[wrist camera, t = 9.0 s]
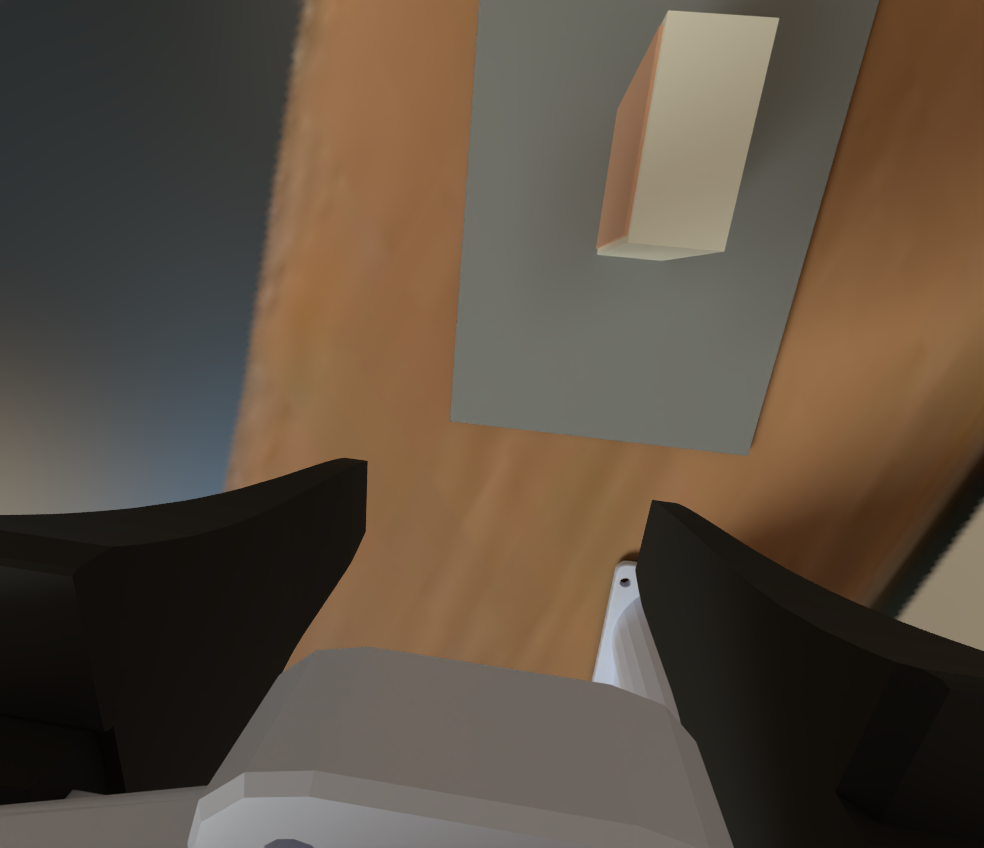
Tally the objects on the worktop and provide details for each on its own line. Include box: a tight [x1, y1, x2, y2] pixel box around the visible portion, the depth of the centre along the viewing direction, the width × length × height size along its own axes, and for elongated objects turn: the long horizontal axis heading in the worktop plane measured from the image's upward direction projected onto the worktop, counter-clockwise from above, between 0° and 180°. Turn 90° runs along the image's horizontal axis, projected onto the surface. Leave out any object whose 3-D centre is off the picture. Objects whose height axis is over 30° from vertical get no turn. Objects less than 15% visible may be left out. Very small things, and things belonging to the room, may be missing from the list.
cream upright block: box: [596, 10, 779, 261], centre depth 14 cm, size 3×5×6 cm, turn 175°
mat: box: [450, 0, 879, 456], centre depth 17 cm, size 18×13×1 cm
